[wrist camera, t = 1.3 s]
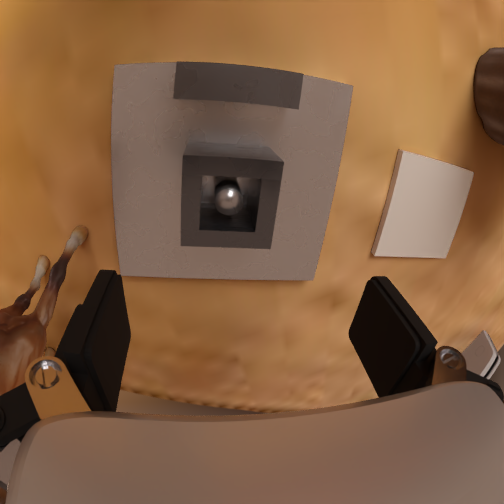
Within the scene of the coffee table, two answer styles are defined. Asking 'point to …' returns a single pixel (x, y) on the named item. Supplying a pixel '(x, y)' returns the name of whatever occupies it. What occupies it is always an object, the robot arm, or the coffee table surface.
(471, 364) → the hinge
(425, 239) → the pad
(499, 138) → the plant pot
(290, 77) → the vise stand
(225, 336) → the coffee table surface
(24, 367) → the horse figurine
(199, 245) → the collar
